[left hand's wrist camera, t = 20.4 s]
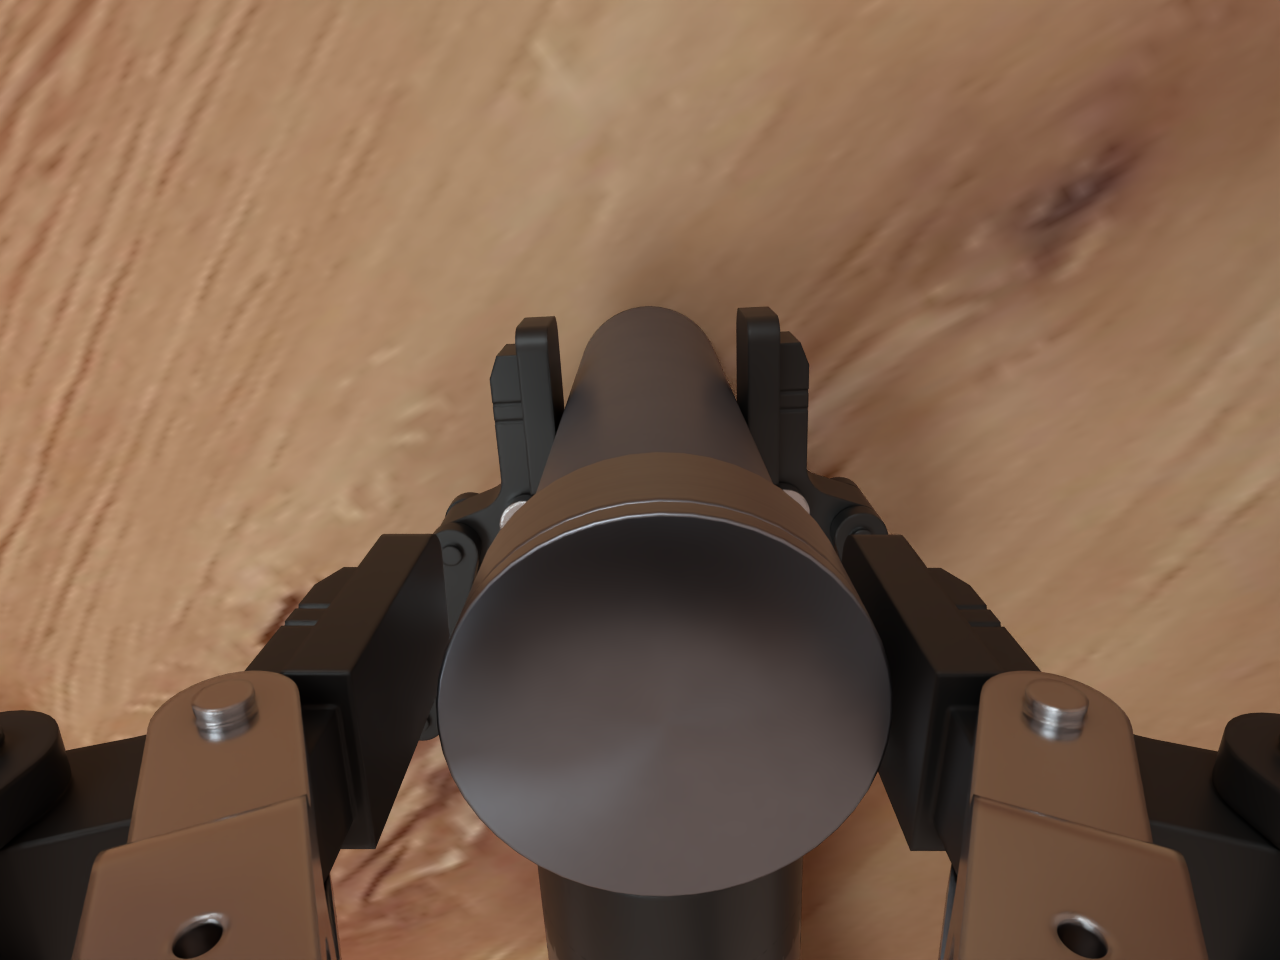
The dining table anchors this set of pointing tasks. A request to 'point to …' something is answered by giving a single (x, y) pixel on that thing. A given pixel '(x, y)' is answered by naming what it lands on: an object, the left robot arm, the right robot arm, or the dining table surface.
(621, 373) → the cylindrical container
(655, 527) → the lid
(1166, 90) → the dining table surface
